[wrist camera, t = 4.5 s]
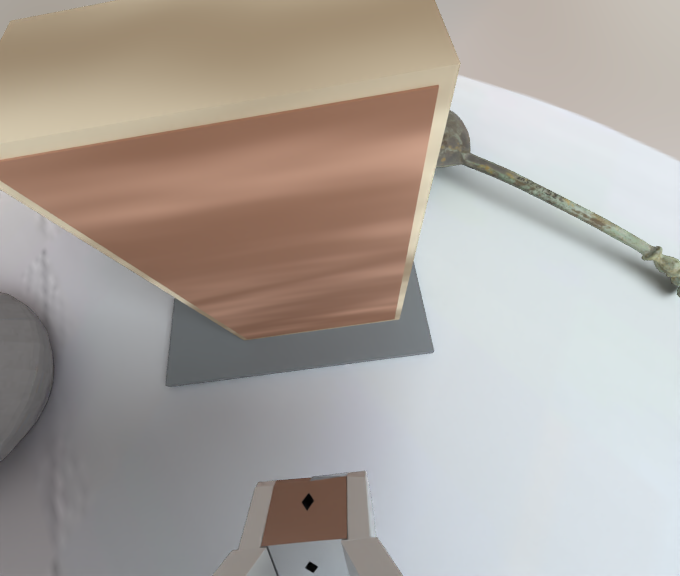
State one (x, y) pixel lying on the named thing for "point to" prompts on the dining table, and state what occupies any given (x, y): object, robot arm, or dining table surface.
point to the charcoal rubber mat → (290, 344)
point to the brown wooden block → (236, 147)
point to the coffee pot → (22, 371)
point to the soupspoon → (545, 195)
